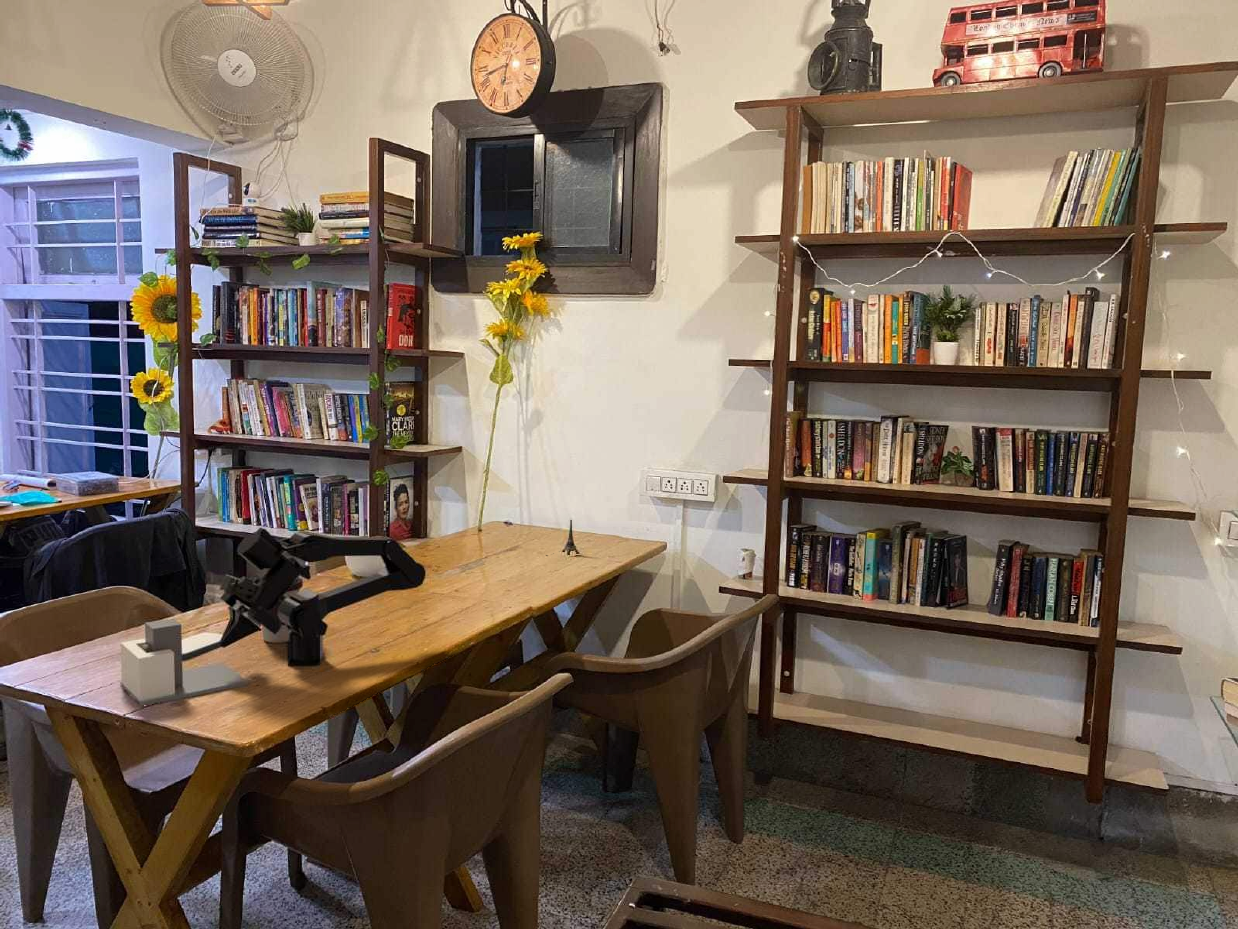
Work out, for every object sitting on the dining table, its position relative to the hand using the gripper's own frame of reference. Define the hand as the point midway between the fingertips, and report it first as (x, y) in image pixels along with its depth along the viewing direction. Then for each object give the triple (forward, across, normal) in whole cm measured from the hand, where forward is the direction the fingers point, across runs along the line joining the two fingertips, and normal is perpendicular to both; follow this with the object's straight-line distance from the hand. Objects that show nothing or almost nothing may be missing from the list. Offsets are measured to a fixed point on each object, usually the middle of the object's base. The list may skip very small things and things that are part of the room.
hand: (220, 646), depth 186 cm
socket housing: (+10, 0, 0) cm, 10 cm away
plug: (+11, 0, -4) cm, 12 cm away
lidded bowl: (-40, -65, +50) cm, 92 cm away
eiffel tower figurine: (-87, -52, +99) cm, 141 cm away
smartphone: (+4, -23, +7) cm, 24 cm away
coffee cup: (-9, -18, +18) cm, 27 cm away
